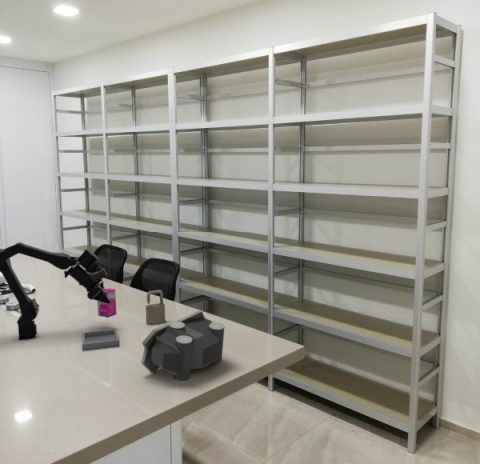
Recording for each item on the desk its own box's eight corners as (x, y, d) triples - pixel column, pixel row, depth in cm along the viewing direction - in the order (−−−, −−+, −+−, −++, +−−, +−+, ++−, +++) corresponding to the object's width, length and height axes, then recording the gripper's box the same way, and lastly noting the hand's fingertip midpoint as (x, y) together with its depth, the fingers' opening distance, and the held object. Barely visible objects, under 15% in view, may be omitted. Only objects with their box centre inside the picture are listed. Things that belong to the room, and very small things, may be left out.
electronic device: (132, 371, 177) (192, 343, 200) (174, 396, 165) (233, 364, 188) (134, 324, 172) (195, 301, 195) (177, 346, 160) (237, 319, 183)
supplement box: (97, 316, 218) (96, 290, 217) (106, 312, 224) (105, 287, 222) (107, 318, 216) (106, 291, 214) (117, 314, 221) (116, 288, 219)
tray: (82, 350, 197) (82, 344, 197) (82, 338, 210) (81, 332, 210) (119, 346, 201) (119, 340, 201) (116, 334, 214) (116, 328, 214)
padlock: (145, 322, 229) (144, 290, 227) (163, 320, 233) (162, 288, 230) (148, 325, 226) (146, 292, 223) (165, 322, 229) (164, 290, 227)
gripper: (94, 267, 206) (123, 292, 211) (96, 258, 224) (122, 281, 228) (75, 287, 206) (104, 311, 210) (78, 276, 224) (105, 299, 228)
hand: (109, 300), depth 219 cm, fingers closed on supplement box, 8 cm apart
